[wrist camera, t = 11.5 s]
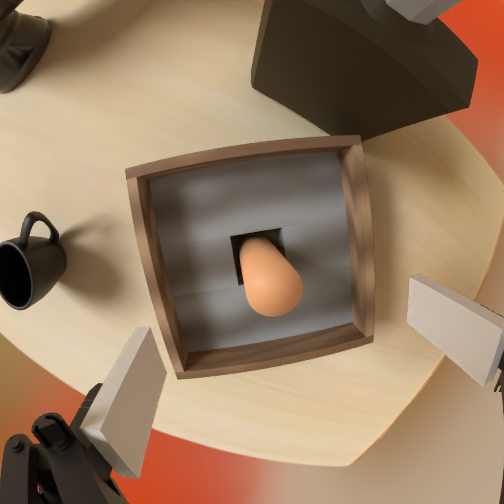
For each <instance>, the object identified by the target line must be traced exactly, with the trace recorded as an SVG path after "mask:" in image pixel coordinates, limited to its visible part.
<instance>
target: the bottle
mask: <svg viewBox="0 0 504 504" xmlns="http://www.w3.org/2000/svg"><path fill="white" fill-rule="evenodd" d="M461 1H462V0H265V3H264V7H263V12H262V17H261V22H260V27H259V32H258V37H257V42H256V47H255V53H254V58H253V63H252V69H251V84H252V88H254V89H256V90H258V91H260V92H262V93H263V94H265V95H267V96H269V97H271V98H273V99H274V100H276V101H278V102H280V103H281V104H283V105H285V106H286V107H288V108H290V109H291V110H293V111H295V112H296V113H298V114H300V115H301V116H303V117H304V118H306V119H308V120H309V121H311V122H312V123H314V124H315V125H317V126H318V127H320V128H321V129H323V130H324V131H326V132H327V133H329V134H330V135H332V136H346V135H360V137H361V142H362V141H365V140H368V139H370V138H373V137H376V136H379V135H382V134H385V133H387V132H390V131H393V130H396V129H399V128H402V127H405V126H408V125H411V124H415V123H418V122H421V121H424V120H427V119H431V118H434V117H437V116H441V115H444V114H448V113H451V112H454V111H458V110H461V109H465V108H468V107H469V105H470V101H471V97H472V92H473V88H474V82H475V77H476V71H477V65H478V59H477V58H476V57H475V55H474V54H473V53H472V52H471V51H470V50H469V49H468V48H467V46H466V45H465V44H464V43H463V42H462V41H461V40H460V39H459V38H458V37H457V36H456V35H455V34H454V33H453V32H452V31H451V30H450V29H449V28H448V27H447V26H446V25H445V24H444V23H443V22H442V21H441V20H440V19H438V18H437V17H438V16H440V15H441V14H442V13H444V12H445V11H447V10H448V9H450V8H451V7H453V6H455V5H456V4H458V3H459V2H461Z"/></svg>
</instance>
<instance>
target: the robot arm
mask: <svg viewBox="0 0 504 504" xmlns="http://www.w3.org/2000/svg"><path fill="white" fill-rule="evenodd" d="M23 1H24V0H0V94H2V93H6V92H9V91H10V90H12V89H13V88H15V87H16V86H17V85H18V84H20V83H21V82H22V81H23V80H24V79H25V78H26V76H27V75H28V74H29V73H30V72H31V71H32V69H33V68H34V67H35V65H36V64H37V62H38V61H39V59H40V58H41V56H42V54H43V53H44V51H45V49H46V47H47V44H48V42H49V39H50V35H51V26H50V24H49V23H48V22H47V21H46V20H45V19H44V18H42V17H39V16H31V15H27V14H22V13H19V12H17V11H16V10H15V8H16V7H17V6H18V5H20V4H21V3H22V2H23ZM406 323H407V324H409V325H410V326H411V327H412V328H414V329H415V330H416V331H417V332H418V333H420V334H421V335H422V336H423V337H425V338H426V339H427V340H428V341H429V342H431V343H432V344H433V345H434V346H436V347H437V348H438V349H439V350H440V351H442V352H443V353H444V354H445V355H446V356H448V357H449V358H450V359H451V360H452V361H453V362H455V363H456V364H457V365H458V366H459V367H460V368H462V369H463V370H464V371H465V372H466V373H468V374H469V375H470V376H471V377H472V378H473V379H474V380H475V381H477V382H478V383H479V384H480V385H481V386H482V387H484V386H485V385H487V384H488V383H489V382H490V381H492V380H493V379H494V376H495V374H496V371H497V369H498V368H499V369H500V370H502V372H501V374H500V376H499V379H498V381H497V384H496V386H495V388H494V392H496V390H497V388H498V386H500V385H501V387H500V390H499V392H502V401H503V413H504V317H502V316H501V315H499V314H496V313H495V312H494V311H492V310H490V309H488V308H486V307H484V306H483V305H480V304H478V303H476V302H474V301H472V300H470V299H468V298H467V297H465V296H463V295H461V294H459V293H457V292H455V291H453V290H451V289H449V288H447V287H445V286H443V285H441V284H439V283H437V282H435V281H433V280H431V279H429V278H427V277H425V276H423V275H421V274H418V275H414V276H411V277H410V279H409V298H408V311H407V322H406ZM166 374H167V372H166V370H165V367H164V364H163V362H162V359H161V356H160V354H159V351H158V348H157V345H156V342H155V340H154V337H153V334H152V331H151V328H150V327H143V328H136V329H135V330H134V332H133V334H132V335H131V337H130V339H129V340H128V342H127V344H126V345H125V347H124V349H123V350H122V352H121V354H120V355H119V357H118V359H117V360H116V362H115V364H114V366H113V367H112V369H111V371H110V373H109V374H108V376H107V378H106V380H105V381H104V383H98V384H97V385H95V386H94V387H93V388H92V389H91V390H90V391H89V393H88V394H87V396H86V398H85V401H83V403H82V405H81V408H79V410H78V412H77V413H76V415H75V417H74V419H73V421H72V422H71V424H70V426H68V425H67V424H66V422H65V421H64V419H63V418H62V416H61V415H59V414H57V413H47V414H44V415H42V416H40V417H39V418H38V419H37V420H35V422H34V424H33V425H32V433H33V434H34V436H35V437H36V438H37V439H38V441H39V442H40V443H41V444H33V443H32V442H31V440H30V439H29V438H28V437H27V436H26V435H24V434H16V435H13V436H12V437H10V438H9V439H8V441H7V442H6V444H5V448H4V454H3V460H2V468H1V478H0V504H129V503H128V501H127V500H126V498H125V497H124V495H123V494H122V492H121V491H120V489H119V487H118V486H117V484H116V483H115V481H114V479H113V478H112V477H111V476H110V474H111V471H112V468H113V469H114V471H115V472H116V473H117V474H118V475H120V477H127V478H135V479H139V477H140V472H141V468H142V464H143V460H144V456H145V451H146V447H147V443H148V439H149V436H150V431H151V428H152V424H153V420H154V417H155V413H156V409H157V406H158V402H159V398H160V395H161V391H162V388H163V384H164V381H165V377H166ZM37 486H38V487H39V493H38V488H37ZM499 504H504V470H503V481H502V490H501V496H500V503H499Z"/></svg>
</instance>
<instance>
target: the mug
mask: <svg viewBox="0 0 504 504" xmlns="http://www.w3.org/2000/svg"><path fill="white" fill-rule="evenodd" d="M36 221H43V222H44V223H45V224H46V225H47V226H48V227H49V229H50V232H51V234H50V238H49V239H47V238H43V237H36V236H29V235H30V231H31V228H32V226H33V224H34V223H35V222H36ZM58 242H59V233H58V231H57V230H56V228H55V227H54V226H53V225H52V223H51V222H50V221H49V220H48V219H47V217H46V216H45V215H43V214H42V213H40V212H36V211H33V212H30V213H28V214H27V216H26V218H25V220H24V222H23V225H22V229H21V234H20V237H18V238H14V239H11V240H7V241H4V242H2V243H1V244H0V295H1V296H2V298H3V299H4V300H5V302H6V303H7V304H8V305H9V306H11V307H12V308H14V309H17V310H25V309H27V308H28V307H30V306H31V305H33V304H35V303H36V302H38V301H39V300H41V299H42V298H43V297H44V296H45V295H46V294H47V293H48V292H49V291H50V290H51V289H52V288H53V287H54V285H55V284H56V283H57V281H58V280H59V278H60V277H61V275H62V274H63V273H64V271H65V269H66V262H67V261H66V255H65V252H64V249H63V247H62V246H61V245H60V244H59V243H58Z"/></svg>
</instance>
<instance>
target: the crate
mask: <svg viewBox="0 0 504 504" xmlns="http://www.w3.org/2000/svg"><path fill="white" fill-rule="evenodd" d="M125 173H126V180H127V187H128V194H129V200H130V206H131V212H132V217H133V223H134V228H135V233H136V238H137V242H138V247H139V252H140V256H141V260H142V265H143V269H144V273H145V277H146V281H147V285H148V289H149V292H150V296H151V300H152V303H153V307H154V310H155V314H156V317H157V320H158V324H159V327H160V330H161V333H162V336H163V339H164V342H165V345H166V348H167V351H168V354H169V357H170V360H171V363H172V366H173V368H174V371H175V374H176V376H177V379H191V378H201V377H210V376H219V375H226V374H234V373H241V372H247V371H253V370H259V369H265V368H271V367H276V366H281V365H286V364H291V363H296V362H300V361H305V360H309V359H314V358H318V357H322V356H326V355H330V354H334V353H337V352H341V351H345V350H348V349H352V348H356V347H359V346H362V345H366V344H369V343H372V342H373V337H374V311H375V271H374V246H373V230H372V217H371V206H370V197H369V188H368V181H367V173H366V166H365V160H364V154H363V148H362V142H361V137H360V135H346V136H323V137H308V138H295V139H284V140H275V141H266V142H258V143H250V144H243V145H236V146H229V147H223V148H217V149H211V150H206V151H201V152H195V153H190V154H185V155H180V156H176V157H171V158H167V159H162V160H158V161H154V162H150V163H146V164H142V165H138V166H134V167H131V168H127V169H125ZM270 229H276V230H277V237H278V244H279V251H280V253H281V254H282V255H283V256H284V257H285V259H286V260H287V261H288V262H289V263H290V264H291V265H292V267H293V268H294V269H295V270H296V271H297V272H298V274H299V275H300V277H301V279H302V283H303V293H302V297H301V299H300V301H299V303H298V304H297V305H296V307H295V308H294V309H292V310H291V311H290V312H288V313H286V314H284V315H281V316H276V317H269V316H264V315H261V314H259V313H258V312H256V311H255V310H254V309H253V308H252V307H251V306H250V304H249V302H248V300H247V297H246V291H245V286H244V280H243V274H242V275H237V269H236V264H235V258H234V252H233V246H232V240H231V236H233V235H239V234H245V233H251V232H257V231H263V230H270Z"/></svg>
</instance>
